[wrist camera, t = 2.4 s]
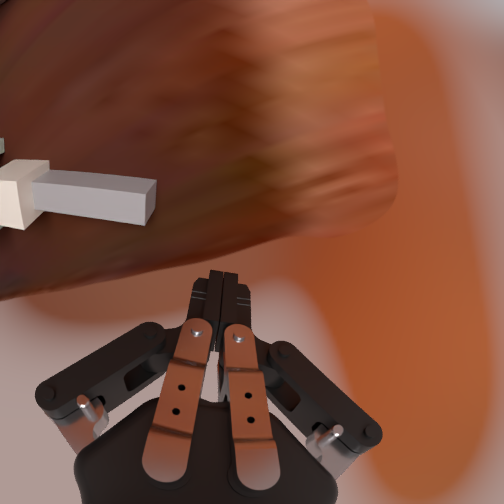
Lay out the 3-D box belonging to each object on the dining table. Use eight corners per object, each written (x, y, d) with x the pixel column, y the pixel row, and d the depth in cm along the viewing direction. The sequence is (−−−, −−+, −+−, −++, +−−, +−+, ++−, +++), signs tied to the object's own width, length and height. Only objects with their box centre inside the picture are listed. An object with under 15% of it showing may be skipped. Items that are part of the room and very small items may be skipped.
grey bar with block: (157, 169, 21) (137, 193, 17) (154, 217, 23) (137, 249, 19) (7, 159, 19) (-25, 179, 15) (12, 198, 21) (-17, 222, 17)
